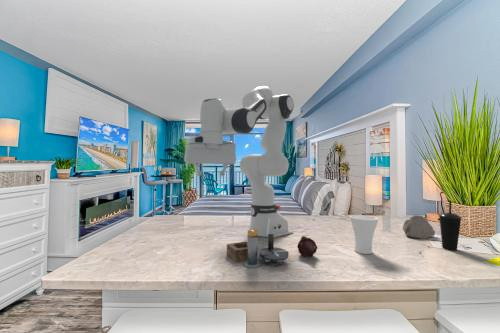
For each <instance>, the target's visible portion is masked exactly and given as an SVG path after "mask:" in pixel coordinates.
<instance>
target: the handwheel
mask: <svg viewBox="0 0 500 333" xmlns="http://www.w3.org/2000/svg"><path fill="white" fill-rule="evenodd" d="M274 239H275V237H274V234H268V237H267V247H265V248H262V249H260V250H259V257H260V258H261V259H263V260H272V261H280V260H282V261H285V260H287V259H288V258H289V256H290V255H289V251H288V250H287V249H284V248H280V247H274V246H275V245H274V242H275V240H274Z"/></svg>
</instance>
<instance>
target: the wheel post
mask: <svg viewBox="0 0 500 333" xmlns="http://www.w3.org/2000/svg"><path fill="white" fill-rule="evenodd" d="M283 261H284V260H280V261H272V260H266V259H264V262H265V263H266V264H267V265H270V266H279V265H282V264H283V263H284V262H283Z"/></svg>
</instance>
